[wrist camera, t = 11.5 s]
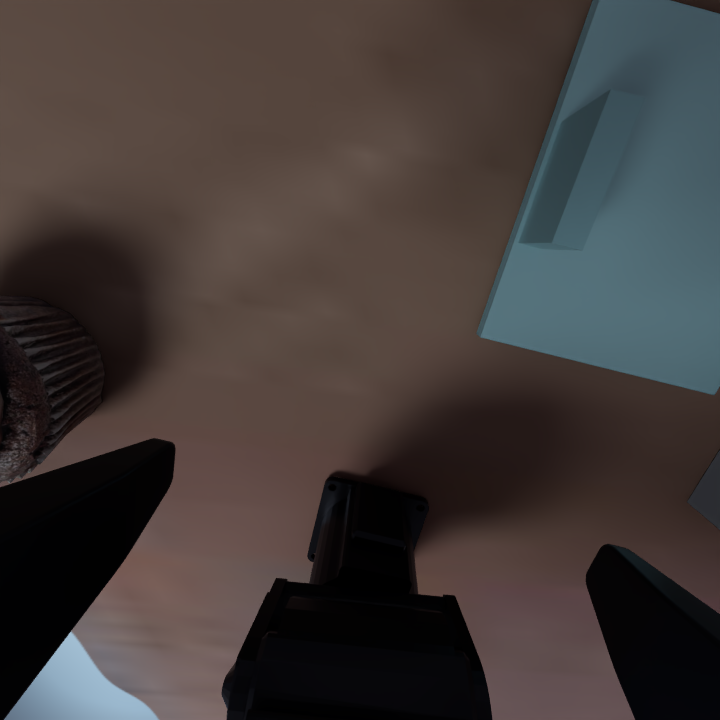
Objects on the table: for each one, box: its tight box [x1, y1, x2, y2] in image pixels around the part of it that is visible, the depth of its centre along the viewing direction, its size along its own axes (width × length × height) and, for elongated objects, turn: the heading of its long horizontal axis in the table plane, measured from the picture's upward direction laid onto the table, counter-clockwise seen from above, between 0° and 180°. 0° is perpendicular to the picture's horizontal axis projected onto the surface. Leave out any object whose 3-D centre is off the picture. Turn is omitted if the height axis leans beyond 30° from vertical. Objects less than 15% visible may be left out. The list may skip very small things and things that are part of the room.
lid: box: [476, 0, 720, 395], centre depth 15 cm, size 14×12×5 cm
